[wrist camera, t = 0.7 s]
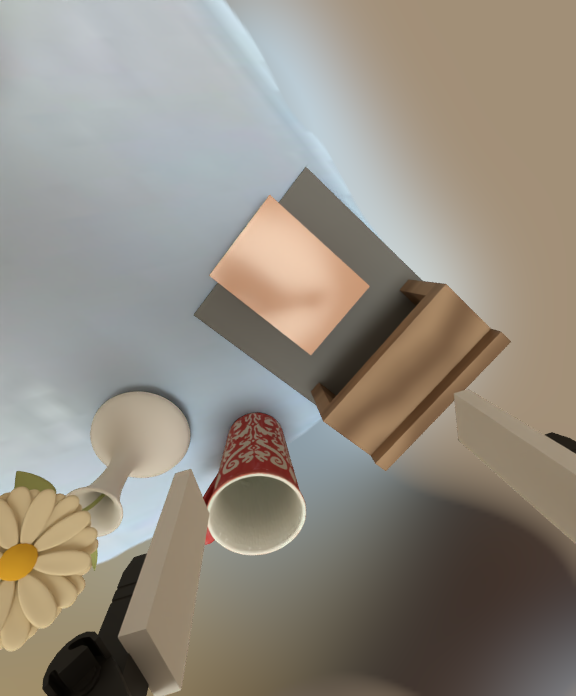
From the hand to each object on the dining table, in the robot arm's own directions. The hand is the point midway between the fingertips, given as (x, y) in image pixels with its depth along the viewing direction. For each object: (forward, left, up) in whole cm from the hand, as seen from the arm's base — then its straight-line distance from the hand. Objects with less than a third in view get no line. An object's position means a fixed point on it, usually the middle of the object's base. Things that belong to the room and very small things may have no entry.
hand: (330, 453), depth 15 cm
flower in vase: (-7, -19, -24) cm, 32 cm away
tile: (-4, +6, -23) cm, 24 cm away
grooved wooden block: (+11, +6, -23) cm, 26 cm away
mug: (+5, -14, -24) cm, 28 cm away
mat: (+4, +6, -24) cm, 25 cm away
